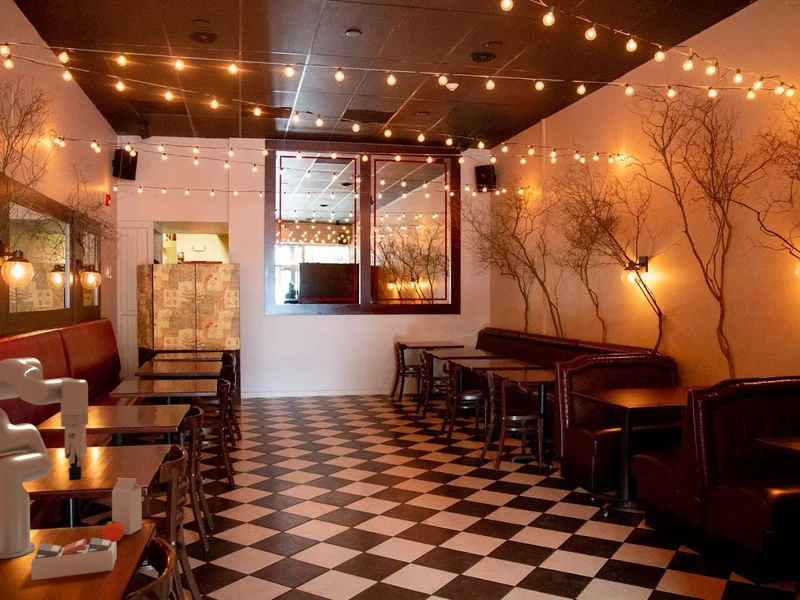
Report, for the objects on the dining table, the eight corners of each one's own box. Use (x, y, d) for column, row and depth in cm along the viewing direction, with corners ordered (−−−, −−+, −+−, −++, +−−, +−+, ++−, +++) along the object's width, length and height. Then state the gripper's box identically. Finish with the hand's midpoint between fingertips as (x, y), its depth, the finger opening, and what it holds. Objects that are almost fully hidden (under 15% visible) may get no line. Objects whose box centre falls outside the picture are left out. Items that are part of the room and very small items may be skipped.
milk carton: (130, 535, 232) (129, 481, 232) (112, 534, 233) (111, 480, 234) (142, 528, 239) (141, 476, 239) (124, 527, 240) (123, 475, 240)
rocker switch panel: (31, 580, 194) (31, 559, 194) (39, 566, 204) (39, 547, 204) (112, 570, 200) (112, 550, 201) (116, 557, 211) (116, 538, 211)
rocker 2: (88, 548, 200) (89, 543, 200) (90, 542, 205) (92, 537, 205) (107, 551, 201) (108, 546, 201) (109, 544, 207) (111, 540, 207)
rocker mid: (64, 556, 198) (62, 551, 198) (67, 549, 203) (65, 545, 203) (83, 548, 199) (82, 544, 199) (86, 542, 205) (85, 538, 204)
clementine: (94, 544, 223) (94, 523, 223) (108, 537, 230) (108, 517, 230) (115, 546, 221) (115, 525, 221) (128, 539, 228) (128, 518, 228)
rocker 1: (36, 554, 195) (37, 549, 196) (40, 547, 201) (41, 542, 201) (56, 557, 197) (58, 552, 197) (60, 550, 202) (61, 545, 202)
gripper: (84, 423, 198) (84, 484, 197) (91, 415, 212) (92, 472, 212) (56, 424, 195) (57, 486, 195) (65, 417, 210) (66, 475, 209)
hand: (75, 479), depth 203 cm, fingers closed
